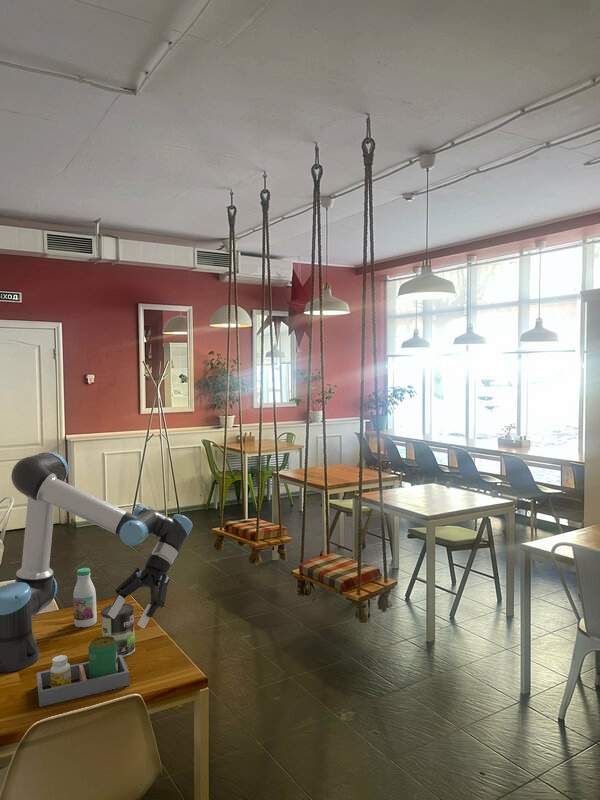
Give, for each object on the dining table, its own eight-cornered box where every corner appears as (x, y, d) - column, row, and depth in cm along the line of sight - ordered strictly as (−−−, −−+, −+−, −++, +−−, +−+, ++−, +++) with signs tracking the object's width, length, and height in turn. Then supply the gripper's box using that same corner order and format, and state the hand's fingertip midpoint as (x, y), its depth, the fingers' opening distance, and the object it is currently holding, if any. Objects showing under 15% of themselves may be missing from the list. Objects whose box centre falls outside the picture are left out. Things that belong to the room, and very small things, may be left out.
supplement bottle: (75, 688, 176) (74, 655, 176) (61, 697, 171) (60, 663, 171) (60, 685, 178) (59, 652, 178) (46, 694, 173) (45, 660, 173)
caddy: (37, 686, 178) (36, 672, 177) (122, 667, 188) (121, 654, 188) (39, 706, 166) (39, 692, 166) (129, 685, 177) (129, 672, 177)
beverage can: (120, 683, 178) (119, 643, 178) (92, 690, 174) (90, 649, 174) (115, 672, 185) (113, 633, 185) (87, 678, 182) (86, 638, 181)
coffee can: (140, 645, 203) (139, 603, 202) (126, 659, 193) (124, 616, 192) (112, 643, 205) (110, 602, 205) (96, 657, 195) (94, 614, 194)
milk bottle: (80, 619, 226) (78, 565, 226) (100, 619, 225) (98, 566, 225) (70, 627, 219) (68, 572, 218) (90, 628, 218) (88, 573, 217)
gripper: (195, 572, 192) (160, 636, 181) (141, 559, 206) (106, 618, 195) (182, 559, 188) (146, 625, 176) (128, 547, 202) (91, 607, 190)
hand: (125, 621), depth 185 cm, fingers open, 13 cm apart
